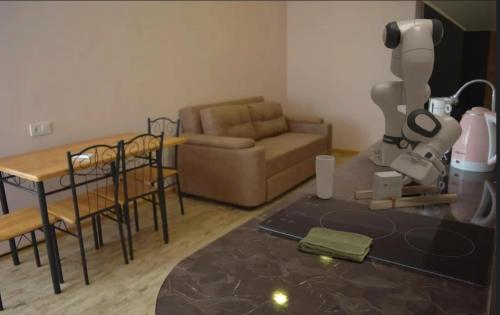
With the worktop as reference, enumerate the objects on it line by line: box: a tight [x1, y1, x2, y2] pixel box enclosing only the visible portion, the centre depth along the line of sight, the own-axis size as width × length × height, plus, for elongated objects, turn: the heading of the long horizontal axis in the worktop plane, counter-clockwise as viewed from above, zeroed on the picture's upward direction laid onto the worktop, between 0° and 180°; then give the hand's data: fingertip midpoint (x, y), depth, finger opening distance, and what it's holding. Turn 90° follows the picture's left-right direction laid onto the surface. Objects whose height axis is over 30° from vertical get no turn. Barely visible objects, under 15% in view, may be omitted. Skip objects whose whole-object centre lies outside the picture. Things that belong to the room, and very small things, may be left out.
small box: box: [372, 170, 403, 201], centre depth 137 cm, size 8×6×10 cm
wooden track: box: [353, 183, 458, 211], centre depth 141 cm, size 13×32×3 cm, turn 101°
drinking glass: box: [315, 154, 336, 200], centre depth 144 cm, size 7×7×15 cm
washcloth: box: [297, 226, 374, 263], centre depth 106 cm, size 13×18×3 cm
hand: (397, 186), depth 139 cm, fingers closed, pressing on small box
